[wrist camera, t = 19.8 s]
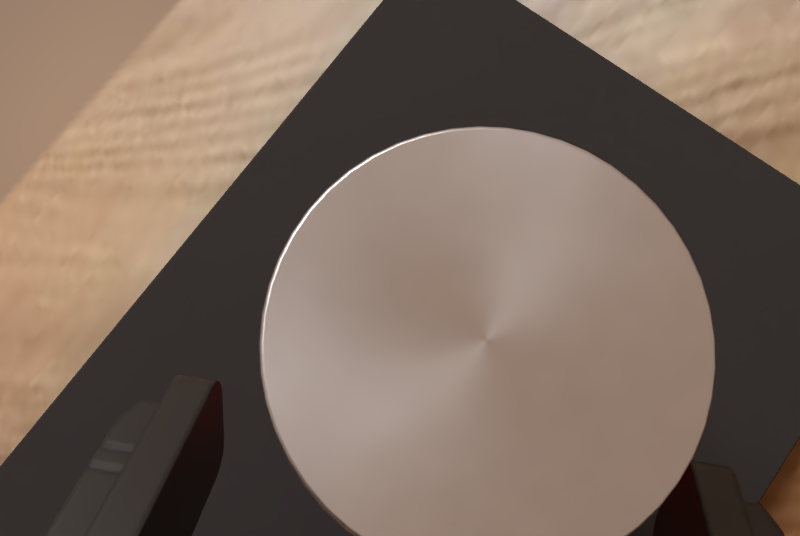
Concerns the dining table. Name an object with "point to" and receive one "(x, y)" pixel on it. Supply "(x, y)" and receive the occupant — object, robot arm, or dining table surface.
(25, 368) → the dining table surface
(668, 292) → the can
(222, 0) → the dining table surface
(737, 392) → the mat
